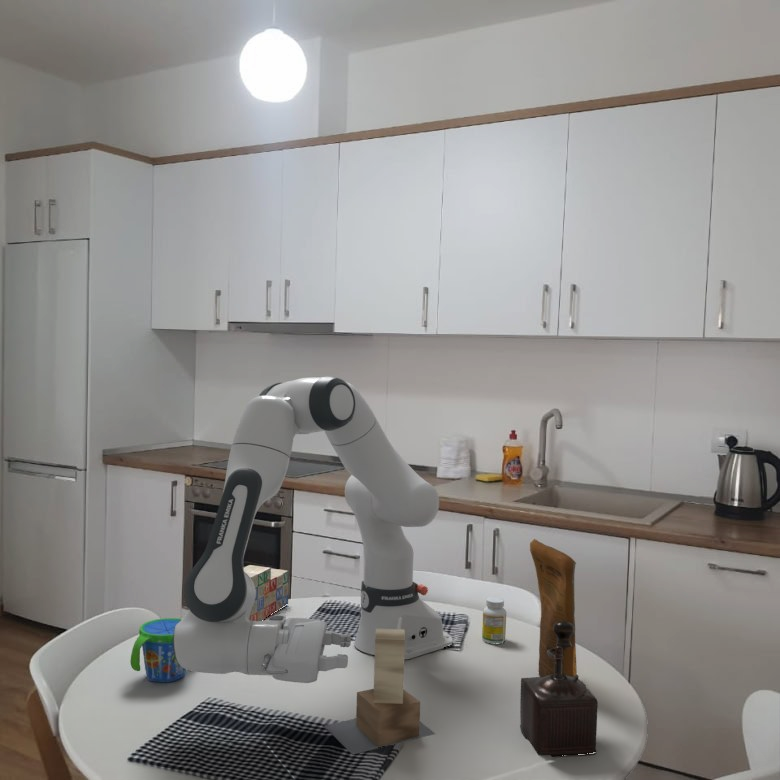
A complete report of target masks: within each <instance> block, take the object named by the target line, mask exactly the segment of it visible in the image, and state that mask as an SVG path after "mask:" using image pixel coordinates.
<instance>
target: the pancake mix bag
mask: <svg viewBox="0 0 780 780" xmlns="http://www.w3.org/2000/svg"><path fill="white" fill-rule="evenodd" d="M529 552H530V555H531V558H532V560H533V564H534V567H535V573H536V579H537V587H538V592H539V598H540V600H539V601H540V614H541V615H540V624H539V646H538V647H539V648H538V650H539V651H538V652H539V654H538V655H539V656H538V657H539V658H538V669H537V670H538V672H539V674H540V675H541V677H545V676H548V675H552V674H556V659H552V658H551V657H549V656H548V655H547V650H549V649H553V648H556V647H557V646H556V644H557V641H558V638H557V636H556V634H555V633H554V632H553V627H554V624H555V623H557V622H559V621H567V622H570V623H571V624H572V625H573V627H574V633H573V634H572V635H571V637H570V643H571V645H572V646H571V647H568V648H567V649H565V651H563V652H562V655H563V659H562V661H561V674H563V673H564V674H565V675H567V676H576V675H578V672H577V671H578V670H577V651H576V622H575V621H576V620H575V609H576V607H575V606H576V605H575V604H576V603H575V573H576V571H575V570H576V565H577V562H576V561H575V560H574V558H572V556H570V555H568V554H566V553H565V552H563V551H561V550H559V549H557V548H555V547H552V546H550V545H546V544H544V543H542V542H540V541H539V540H537V539H535V538H534V539H532V541H530V543H529ZM553 654H556V653H553ZM539 674H538V675H539ZM540 675H539V676H540Z"/></svg>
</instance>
